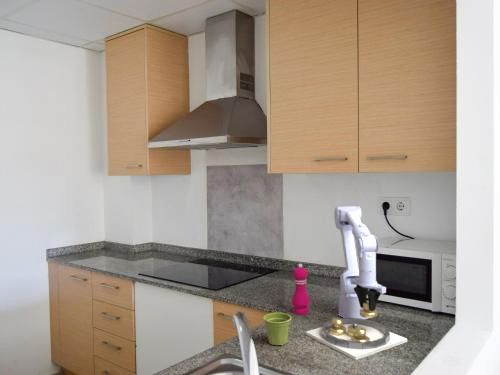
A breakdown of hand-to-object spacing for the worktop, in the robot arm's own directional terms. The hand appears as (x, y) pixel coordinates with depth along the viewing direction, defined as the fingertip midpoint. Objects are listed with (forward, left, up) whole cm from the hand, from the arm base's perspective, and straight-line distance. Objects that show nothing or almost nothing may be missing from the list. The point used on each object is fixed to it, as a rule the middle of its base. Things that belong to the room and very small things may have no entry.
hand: (367, 308), depth 146 cm
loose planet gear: (0, +1, -2) cm, 2 cm away
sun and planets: (0, -8, -8) cm, 11 cm away
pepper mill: (-31, -5, -9) cm, 33 cm away
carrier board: (0, -6, -9) cm, 11 cm away
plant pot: (-12, -30, -9) cm, 34 cm away
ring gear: (0, -6, -8) cm, 10 cm away
